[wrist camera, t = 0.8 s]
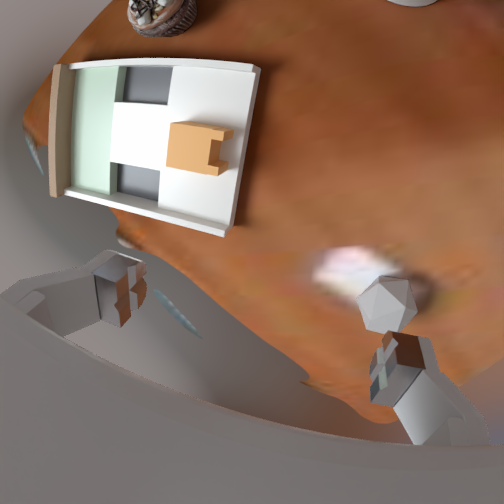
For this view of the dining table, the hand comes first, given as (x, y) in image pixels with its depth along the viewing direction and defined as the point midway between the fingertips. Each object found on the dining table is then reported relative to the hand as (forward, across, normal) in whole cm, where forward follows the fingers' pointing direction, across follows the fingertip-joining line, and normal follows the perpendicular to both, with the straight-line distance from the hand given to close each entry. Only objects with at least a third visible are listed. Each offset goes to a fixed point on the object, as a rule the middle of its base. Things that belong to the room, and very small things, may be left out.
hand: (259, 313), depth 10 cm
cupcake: (+35, +25, -19) cm, 47 cm away
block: (+33, +16, +1) cm, 36 cm away
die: (+36, -16, +17) cm, 43 cm away
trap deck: (+35, +27, +1) cm, 44 cm away
